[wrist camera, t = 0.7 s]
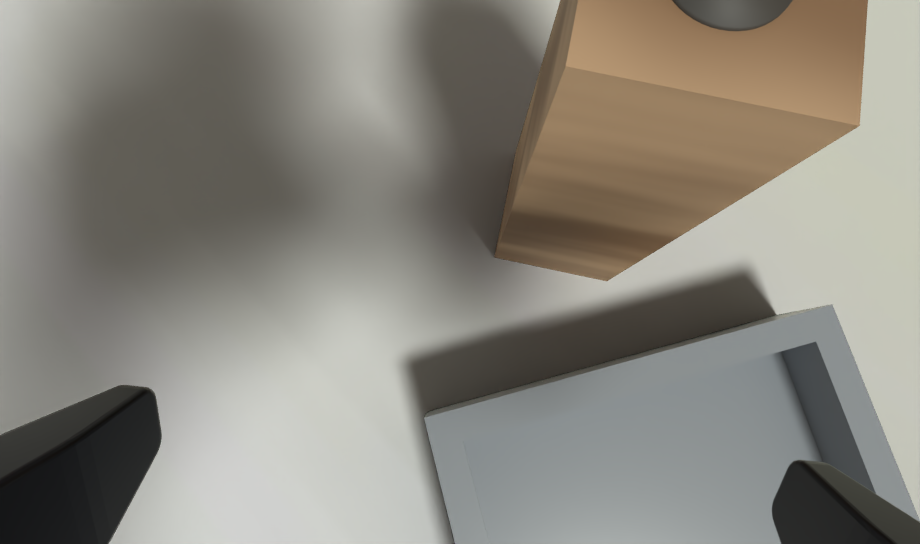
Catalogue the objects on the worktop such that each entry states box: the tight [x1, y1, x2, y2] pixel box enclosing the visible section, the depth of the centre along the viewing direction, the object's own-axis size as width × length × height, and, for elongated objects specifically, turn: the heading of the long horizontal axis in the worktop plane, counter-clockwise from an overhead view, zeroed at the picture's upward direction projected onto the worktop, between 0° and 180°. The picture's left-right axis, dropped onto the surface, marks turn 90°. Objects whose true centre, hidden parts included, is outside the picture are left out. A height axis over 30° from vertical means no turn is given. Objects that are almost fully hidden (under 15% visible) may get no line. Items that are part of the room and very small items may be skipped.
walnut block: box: [494, 0, 868, 281], centre depth 15 cm, size 4×4×13 cm
